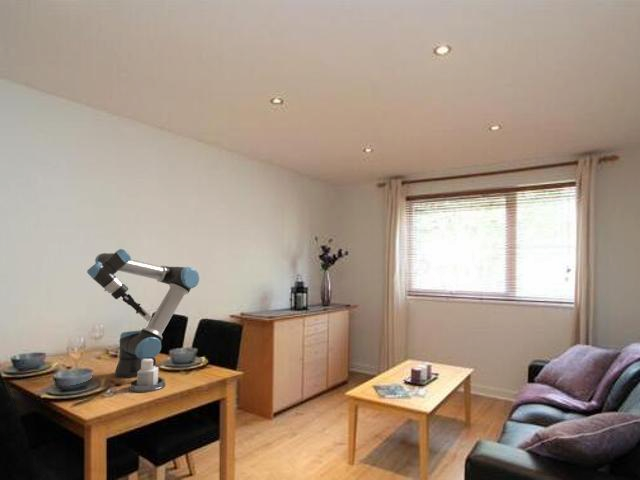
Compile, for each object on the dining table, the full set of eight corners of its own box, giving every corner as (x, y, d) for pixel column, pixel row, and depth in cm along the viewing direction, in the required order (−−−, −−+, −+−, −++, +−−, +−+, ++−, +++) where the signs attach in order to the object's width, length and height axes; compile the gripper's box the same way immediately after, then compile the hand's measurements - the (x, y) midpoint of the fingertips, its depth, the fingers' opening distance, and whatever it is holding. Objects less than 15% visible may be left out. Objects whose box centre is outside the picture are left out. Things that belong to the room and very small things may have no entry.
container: (141, 382, 194) (143, 356, 195) (158, 382, 195) (159, 356, 196) (136, 387, 187) (137, 360, 187) (153, 387, 188) (154, 360, 188)
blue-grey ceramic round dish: (122, 390, 184) (122, 385, 184) (143, 380, 200) (143, 375, 200) (152, 393, 181) (153, 387, 182) (171, 383, 197) (172, 377, 197)
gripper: (109, 292, 201) (140, 320, 207) (110, 296, 179) (145, 327, 185) (121, 281, 203) (151, 309, 210) (124, 284, 182) (157, 315, 188)
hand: (148, 317), depth 198 cm, fingers open, 13 cm apart
